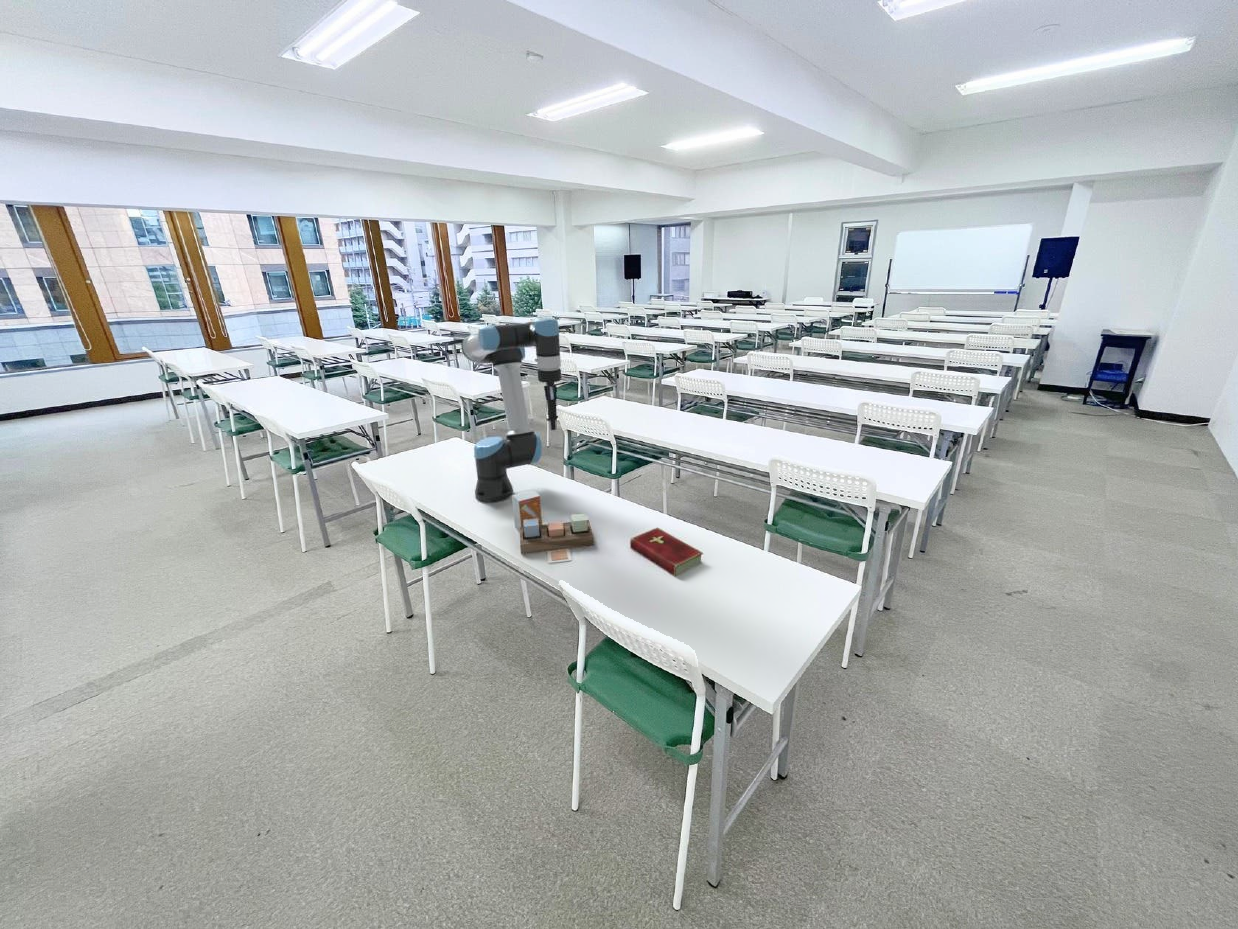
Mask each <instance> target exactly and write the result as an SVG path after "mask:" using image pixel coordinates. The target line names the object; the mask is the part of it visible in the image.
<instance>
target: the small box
mask: <svg viewBox="0 0 1238 929" xmlns="http://www.w3.org/2000/svg"><path fill="white" fill-rule="evenodd" d="M511 500H512V508H513V510H512V512H513V520H514V528H515V529H516V531H518V532H519V533H520V527H524V522H523V520H527V519H537V518H538V524H539V525H543V520H542V518H543V516H542V507H541V506H542V505H541V495H539V494H538V493H537V492H536V491H535V490H533V489H532V490H531V489H530V490H528V491H523V492H519V493H516V494H512V496H511Z"/></svg>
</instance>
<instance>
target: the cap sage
mask: <svg viewBox="0 0 1238 929" xmlns="http://www.w3.org/2000/svg"><path fill="white" fill-rule="evenodd" d="M570 518H571V520H570V522H572V529H573V532H582V531H588V529H587V520H588V519H587V514H586V513H579V514H578V513H577V514H571V515H570Z"/></svg>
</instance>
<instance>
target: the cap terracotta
mask: <svg viewBox="0 0 1238 929" xmlns="http://www.w3.org/2000/svg"><path fill="white" fill-rule="evenodd" d="M562 523H563V521H560V522H559V521H558V522H551V523H547V524H548V531H549V537H554V536H563V535H564V529H563V524H562Z"/></svg>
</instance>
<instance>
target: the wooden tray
mask: <svg viewBox="0 0 1238 929" xmlns="http://www.w3.org/2000/svg"><path fill="white" fill-rule="evenodd" d="M562 524H563V529H564V535H563V536H554V537H549V531H548V523H544V524H542V525H539V536H535V537H525V535H524V527H520V532H519V546H520V555H526V554H533V553H545V552H547V551H554V550H562V549H569V550H570V549H578V548H586V547H594V546H595V536H594V533H593V530H592V526H591V523H590V519H587V529H588V531H582V532H573V529H572V521H566V522H562Z"/></svg>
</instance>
